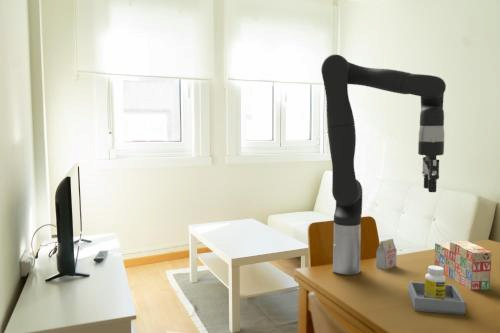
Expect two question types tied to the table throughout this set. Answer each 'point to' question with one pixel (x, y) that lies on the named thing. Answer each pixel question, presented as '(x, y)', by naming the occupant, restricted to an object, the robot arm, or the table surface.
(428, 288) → the supplement bottle
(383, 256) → the herbal tea box
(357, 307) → the table surface
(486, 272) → the stack of blocks
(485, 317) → the table surface
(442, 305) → the box
